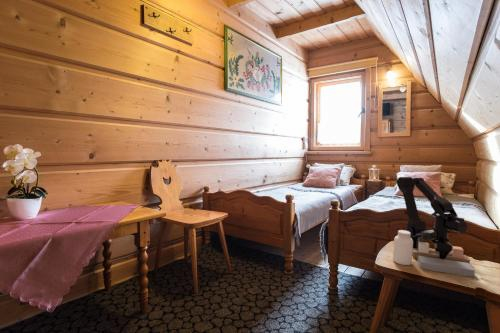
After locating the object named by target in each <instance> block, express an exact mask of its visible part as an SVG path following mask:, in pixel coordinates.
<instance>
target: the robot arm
mask: <svg viewBox="0 0 500 333" xmlns="http://www.w3.org/2000/svg"><path fill="white" fill-rule="evenodd" d="M396 184H397V187H398V190H399V191H400V192H401V193H402V195H403V200H404V203H405V207H406V213H407V218H408V220H407V226H406V227H407V228H406V229H404V230H405V231H409V232H410V233H411V236H410V238H412V240H413V248H417V249H418V245H419V242H420V238H421V239H422V241H427V240H431V242H432V243H433V245H434V246H433V247H434V251H438V252H439V258H440V259H445V258H446V256H447V255H448V254H449V253H451V251H453V246H454V245H452V244H451V243H450V242H449V241H450V239H449V233H450V231H453V232H456V233H459V234H464V233H466V231H467V229H468V224H467V222H466V221H465V218H464V217H459V216H458V214H457V212H456V210H455V209H454V205H453V204H452V202H451V201H449V200H448V199H447V198H445V197H442V196H441V195H439V194H438V193H437V192H436V191H435V190H434V189H433V188H432V187H431V185H429V184H428V183H427V181H425V179H424V177H414V178H413V177H411V176H399V177H398V178H397V180H396ZM415 187H416V188H417V189H418V190H419V192H421V194H423V196H424V197H426V199H427V200H428V201H429V203H430V207H431V208H432V209H433V213H431V214H430V215H431V216H433V217H434V226H432V229H427V226H426V222H425V220H421V218H420V216H419V211H418V208H417V204H416V203H417V202H416V199H415V195H414V194H415V193H414V189H415Z"/></svg>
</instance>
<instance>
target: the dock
mask: <svg viewBox="0 0 500 333" xmlns="http://www.w3.org/2000/svg"><path fill="white" fill-rule="evenodd" d="M417 263H418V266H419V269H420V270H421V269H422V270H427V271H429V270H430V271H433V272H439V273H440V272H441V273H445V274H453V275H459V276H465V277H471V278H472V277H473V278H474V277H475V269H474V268H473V267H472V265H471V263H470V264H469V263H465V262H458V261H452V260H445V259H438V258H431V257H424V256H418V258H417Z"/></svg>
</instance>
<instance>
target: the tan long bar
mask: <svg viewBox="0 0 500 333" xmlns="http://www.w3.org/2000/svg"><path fill="white" fill-rule="evenodd" d="M418 256H424V257H431V258H438V259H440V258H439V252H438V251H435V250H430V249H429V253H422V252H419V250H418V249H417V248H413V250H412V259H418ZM445 260H452V261H458V262H465V263H469V264H470V265H471V259H470V258H469V257H468V255H465V254H463V258H458V257H453V256H452V255H451V252H450V253H449V254H448V255H447V256H446V258H445Z"/></svg>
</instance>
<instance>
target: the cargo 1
mask: <svg viewBox="0 0 500 333" xmlns="http://www.w3.org/2000/svg"><path fill="white" fill-rule="evenodd" d="M418 250H419V252H422V253H429V250H430V244H429V243H428V242H423V241H419V245H418Z"/></svg>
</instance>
